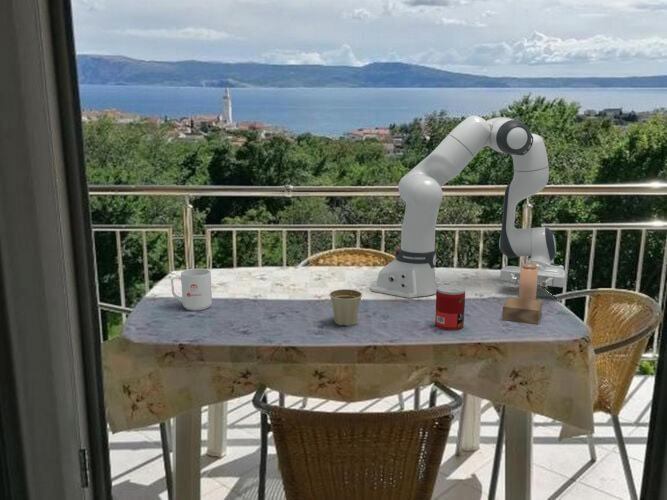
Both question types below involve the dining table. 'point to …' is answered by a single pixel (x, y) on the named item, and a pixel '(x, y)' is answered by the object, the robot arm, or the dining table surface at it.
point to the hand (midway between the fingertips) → (529, 282)
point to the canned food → (450, 307)
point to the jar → (528, 281)
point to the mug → (195, 289)
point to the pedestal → (522, 310)
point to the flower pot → (345, 306)
